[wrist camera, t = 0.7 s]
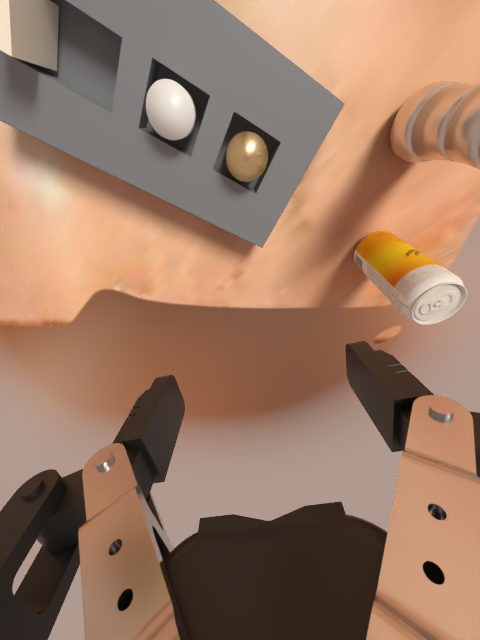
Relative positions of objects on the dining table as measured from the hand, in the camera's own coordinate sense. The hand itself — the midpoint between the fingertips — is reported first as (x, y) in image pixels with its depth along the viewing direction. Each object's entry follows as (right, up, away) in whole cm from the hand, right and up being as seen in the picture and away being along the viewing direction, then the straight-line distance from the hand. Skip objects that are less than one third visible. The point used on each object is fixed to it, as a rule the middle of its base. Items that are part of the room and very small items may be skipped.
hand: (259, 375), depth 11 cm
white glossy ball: (-7, +24, +13) cm, 28 cm away
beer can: (+19, +14, +26) cm, 35 cm away
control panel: (-8, +25, +15) cm, 30 cm away
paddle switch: (-18, +28, +10) cm, 35 cm away
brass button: (0, +21, +16) cm, 26 cm away
